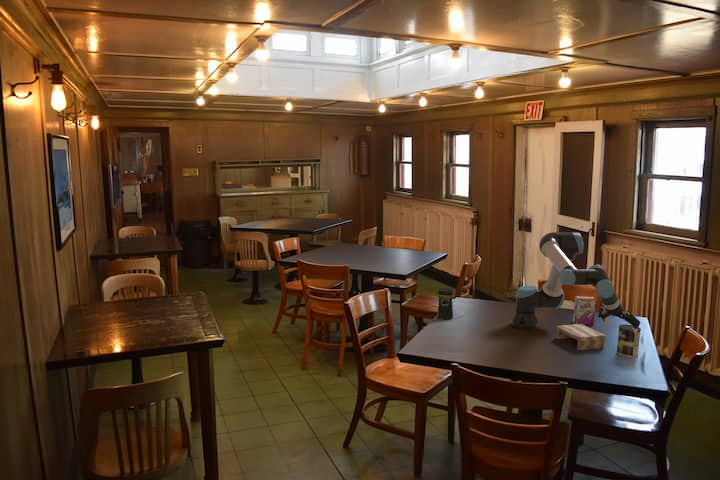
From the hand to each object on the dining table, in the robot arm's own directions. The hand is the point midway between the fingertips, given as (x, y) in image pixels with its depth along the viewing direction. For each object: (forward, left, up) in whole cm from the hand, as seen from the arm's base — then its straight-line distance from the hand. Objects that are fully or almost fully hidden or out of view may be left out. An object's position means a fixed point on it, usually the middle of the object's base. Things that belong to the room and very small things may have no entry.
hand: (622, 327), depth 290 cm
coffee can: (+9, +5, -16) cm, 19 cm away
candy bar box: (+19, +54, -16) cm, 59 cm away
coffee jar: (-58, +84, -16) cm, 103 cm away
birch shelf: (-5, +25, -16) cm, 30 cm away
